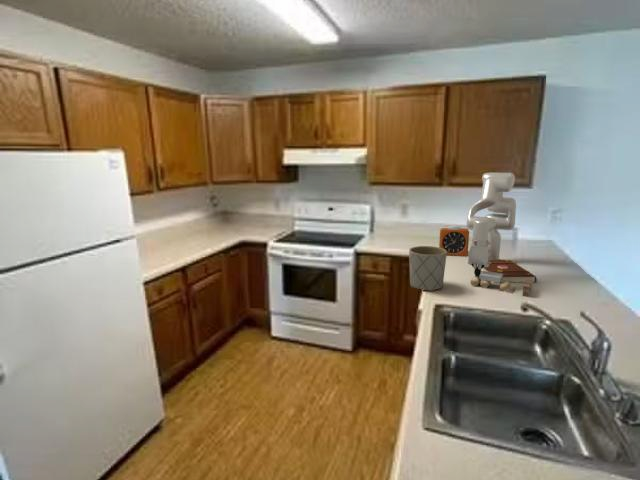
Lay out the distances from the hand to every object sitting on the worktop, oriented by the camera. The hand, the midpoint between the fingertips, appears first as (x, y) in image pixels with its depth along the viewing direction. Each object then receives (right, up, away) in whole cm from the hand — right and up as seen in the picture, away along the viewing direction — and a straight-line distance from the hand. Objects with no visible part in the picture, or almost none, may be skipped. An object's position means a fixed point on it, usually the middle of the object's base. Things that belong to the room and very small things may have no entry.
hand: (477, 275), depth 204 cm
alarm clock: (+8, +9, +60) cm, 61 cm away
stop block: (+20, -7, -13) cm, 25 cm away
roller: (+12, -6, -8) cm, 16 cm away
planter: (-28, -6, 0) cm, 28 cm away
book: (+22, -1, +17) cm, 28 cm away
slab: (+6, -1, -4) cm, 7 cm away
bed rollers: (+7, -5, -3) cm, 9 cm away
